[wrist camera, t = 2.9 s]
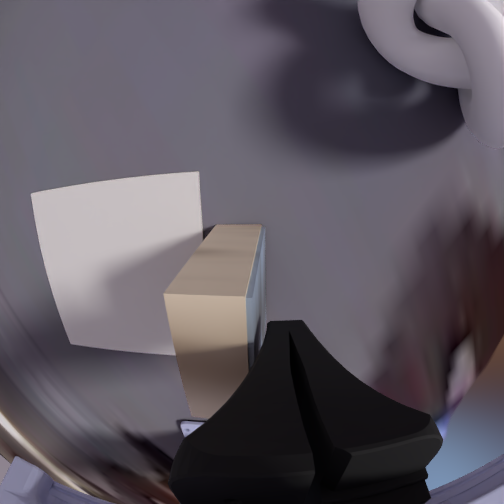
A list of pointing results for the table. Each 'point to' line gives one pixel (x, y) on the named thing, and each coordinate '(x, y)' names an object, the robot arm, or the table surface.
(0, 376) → the table surface
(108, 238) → the white mat
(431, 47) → the white torus knot
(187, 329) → the blue tan block
